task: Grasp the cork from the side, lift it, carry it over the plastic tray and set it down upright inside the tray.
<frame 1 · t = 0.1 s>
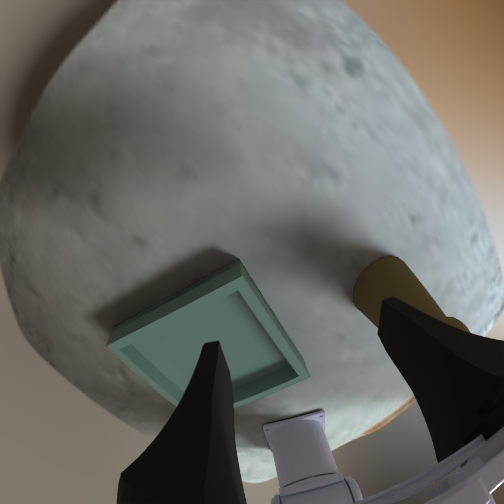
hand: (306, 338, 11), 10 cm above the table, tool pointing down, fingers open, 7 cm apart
cork: (381, 285, 24), on the table
tray: (212, 347, 24), on the table
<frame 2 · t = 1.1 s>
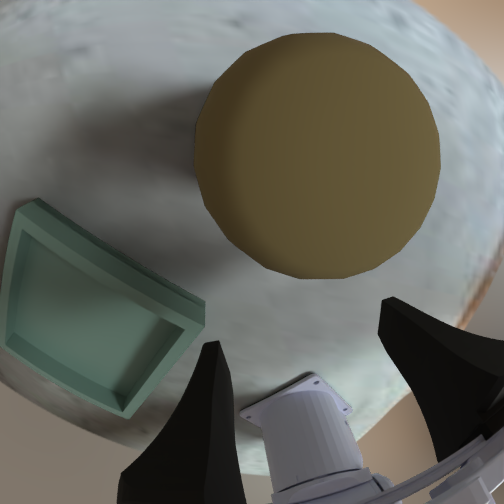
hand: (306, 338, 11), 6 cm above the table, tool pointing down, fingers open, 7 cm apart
cork: (252, 136, 14), on the table
tray: (85, 319, 17), on the table
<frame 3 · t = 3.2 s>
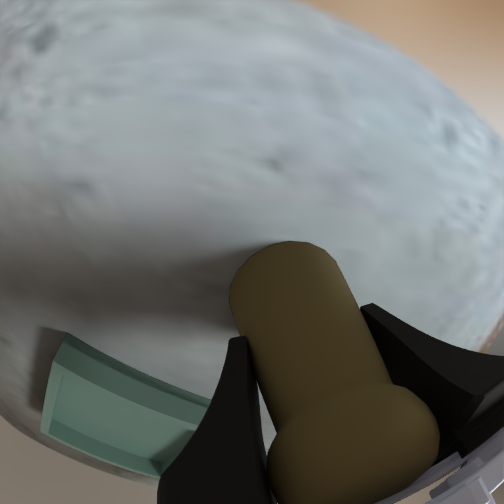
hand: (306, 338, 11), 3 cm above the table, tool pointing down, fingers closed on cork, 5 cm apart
cork: (287, 293, 15), on the table, touching gripper
tray: (125, 416, 18), on the table
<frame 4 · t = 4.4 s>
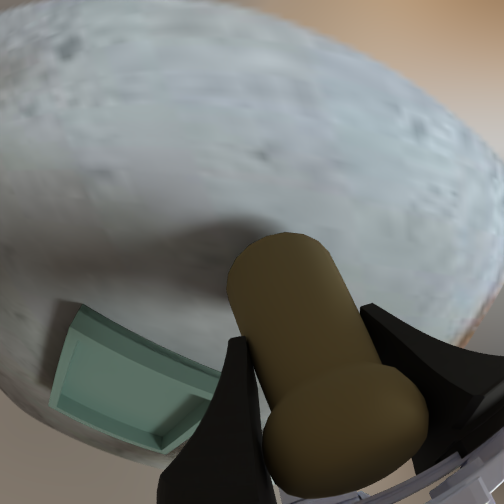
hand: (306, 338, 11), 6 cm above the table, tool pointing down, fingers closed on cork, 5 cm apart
cork: (282, 283, 15), point 2 cm above the table, touching gripper
tray: (130, 387, 20), on the table
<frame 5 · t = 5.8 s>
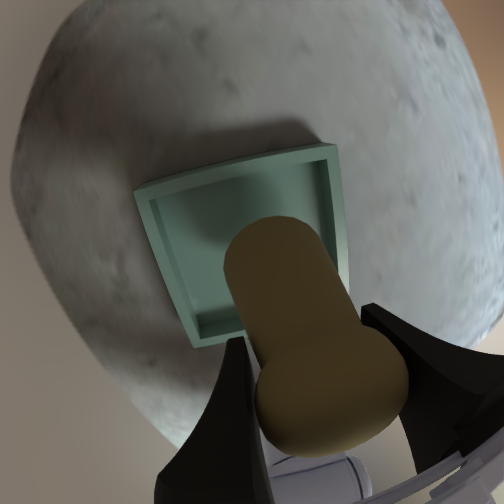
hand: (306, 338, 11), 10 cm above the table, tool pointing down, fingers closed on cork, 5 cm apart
cork: (274, 263, 17), point 4 cm above the table, touching gripper
tray: (252, 244, 21), on the table
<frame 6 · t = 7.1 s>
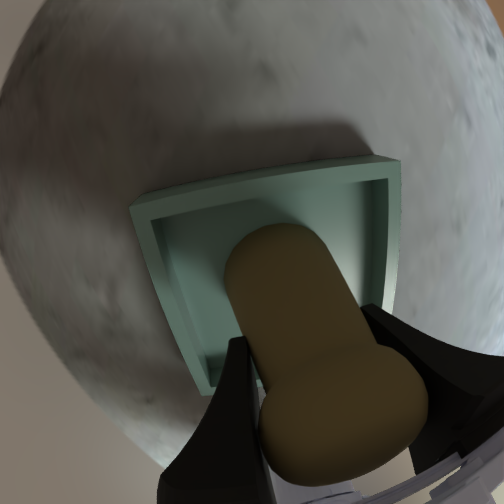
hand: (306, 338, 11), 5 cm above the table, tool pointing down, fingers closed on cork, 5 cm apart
cork: (278, 274, 15), point 1 cm above the table, touching gripper, tray
tray: (280, 277, 16), on the table
when the fingers open (5 cm above the table, at t = 7.7 s): cork stays where it is, resting on tray.
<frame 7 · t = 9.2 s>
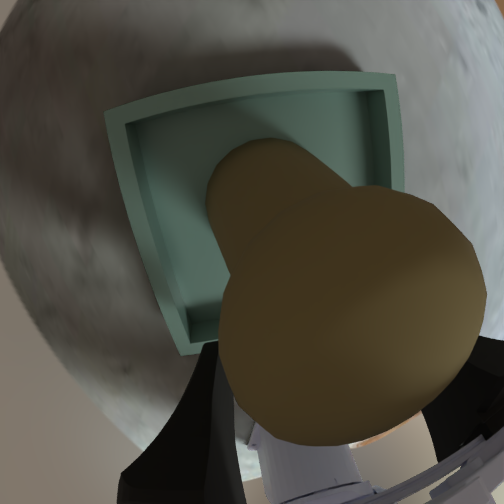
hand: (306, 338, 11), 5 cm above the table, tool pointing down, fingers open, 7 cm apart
cork: (268, 200, 13), point 1 cm above the table, touching tray
tray: (271, 208, 14), on the table
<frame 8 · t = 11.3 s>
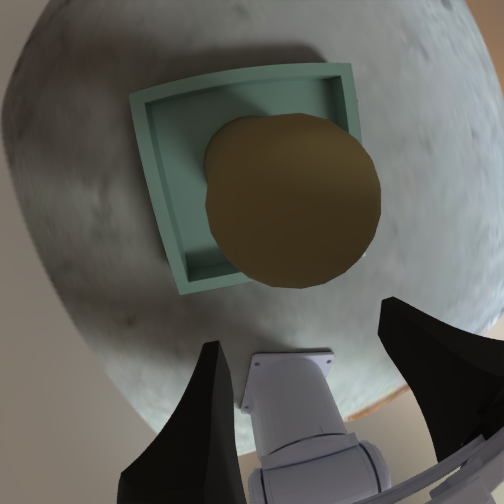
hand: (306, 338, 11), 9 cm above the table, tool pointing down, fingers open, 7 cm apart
cork: (253, 163, 17), point 1 cm above the table, touching tray
tray: (255, 171, 18), on the table
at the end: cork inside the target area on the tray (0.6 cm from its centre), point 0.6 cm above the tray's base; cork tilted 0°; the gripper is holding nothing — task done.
